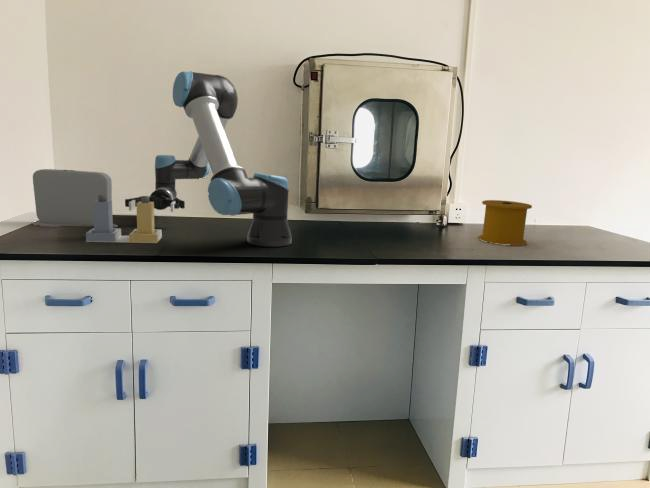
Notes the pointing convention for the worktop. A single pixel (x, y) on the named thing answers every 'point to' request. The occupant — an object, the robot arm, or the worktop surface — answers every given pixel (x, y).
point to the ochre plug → (145, 216)
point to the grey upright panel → (68, 196)
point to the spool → (504, 222)
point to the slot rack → (117, 237)
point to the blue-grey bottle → (103, 215)
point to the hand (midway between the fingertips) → (151, 207)
